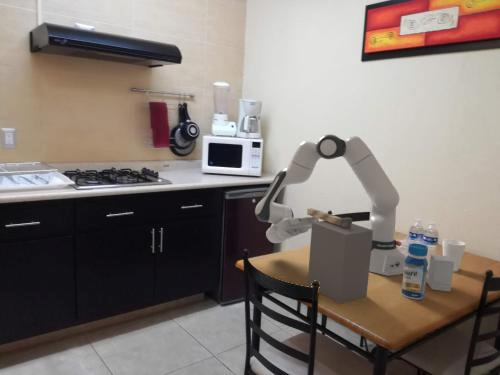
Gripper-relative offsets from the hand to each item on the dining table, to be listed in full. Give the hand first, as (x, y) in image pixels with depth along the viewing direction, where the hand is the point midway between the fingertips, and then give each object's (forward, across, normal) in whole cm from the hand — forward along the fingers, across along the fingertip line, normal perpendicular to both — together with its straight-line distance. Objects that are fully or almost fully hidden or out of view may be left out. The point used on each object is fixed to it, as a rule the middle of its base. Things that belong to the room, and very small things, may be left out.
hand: (308, 218), depth 165 cm
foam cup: (+10, +66, +35) cm, 75 cm away
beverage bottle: (+19, +24, +40) cm, 50 cm away
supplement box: (+18, +41, +40) cm, 60 cm away
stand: (+5, 0, +31) cm, 31 cm away
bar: (+11, 0, +4) cm, 12 cm away
